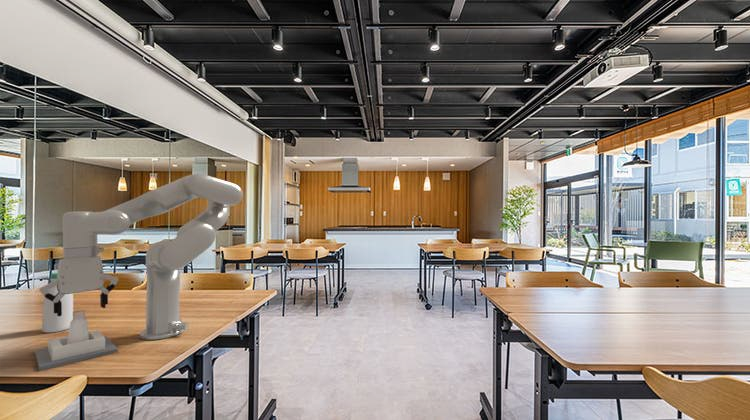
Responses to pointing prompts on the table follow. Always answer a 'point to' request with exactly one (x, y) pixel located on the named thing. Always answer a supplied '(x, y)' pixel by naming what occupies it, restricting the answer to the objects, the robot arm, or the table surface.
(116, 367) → the table surface
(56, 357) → the socket
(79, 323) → the salt shaker
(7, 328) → the table surface
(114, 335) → the table surface
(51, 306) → the milk bottle
